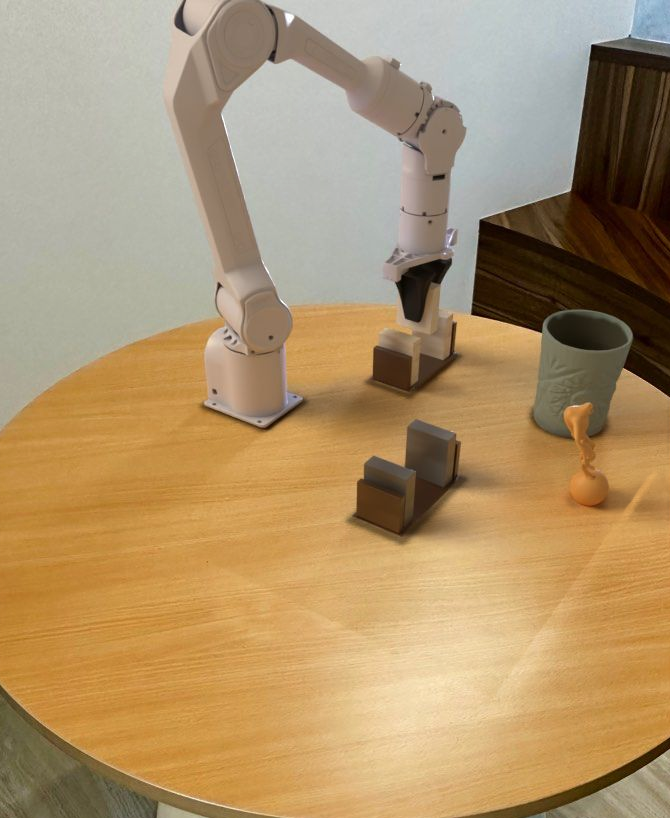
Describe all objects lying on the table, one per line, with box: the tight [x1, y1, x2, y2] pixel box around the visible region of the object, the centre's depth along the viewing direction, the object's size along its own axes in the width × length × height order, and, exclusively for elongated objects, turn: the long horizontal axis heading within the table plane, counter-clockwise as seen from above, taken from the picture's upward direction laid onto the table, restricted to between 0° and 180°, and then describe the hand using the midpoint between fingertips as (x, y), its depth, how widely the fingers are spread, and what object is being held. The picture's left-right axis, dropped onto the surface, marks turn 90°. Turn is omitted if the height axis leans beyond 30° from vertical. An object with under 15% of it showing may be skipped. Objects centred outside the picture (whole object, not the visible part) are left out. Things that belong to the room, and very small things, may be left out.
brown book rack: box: [351, 418, 462, 538], centre depth 92 cm, size 6×13×7 cm, turn 147°
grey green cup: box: [533, 309, 634, 439], centre depth 103 cm, size 10×10×12 cm
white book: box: [396, 282, 442, 335], centre depth 111 cm, size 5×2×6 cm, turn 57°
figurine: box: [564, 403, 610, 507], centre depth 91 cm, size 8×6×12 cm
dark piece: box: [368, 308, 458, 393], centre depth 114 cm, size 6×13×7 cm, turn 147°
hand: (417, 316), depth 112 cm, fingers closed on white book, 2 cm apart
